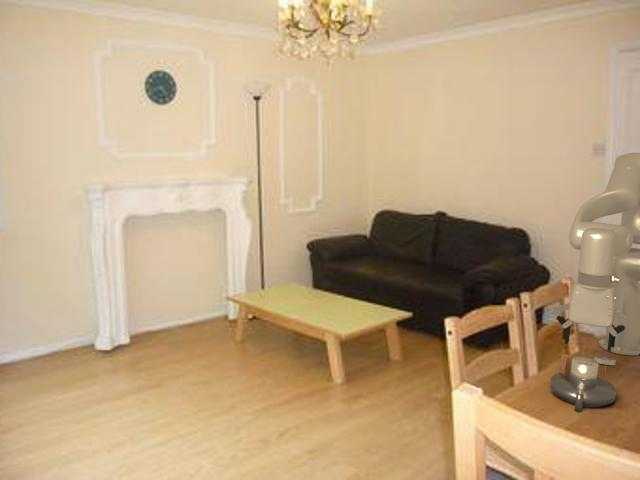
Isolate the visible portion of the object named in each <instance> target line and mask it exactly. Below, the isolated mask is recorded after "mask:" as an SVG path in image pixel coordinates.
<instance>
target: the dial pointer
mask: <svg viewBox="0 0 640 480" xmlns="http://www.w3.org/2000/svg"><path fill="white" fill-rule="evenodd" d="M583 397H584V394H583V393H582V390H579V392H577V393H576V401H575V404H574V411H575V412H577V413H582V412H583V407H584V406H583Z"/></svg>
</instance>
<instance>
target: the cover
mask: <svg viewBox="0 0 640 480" xmlns="http://www.w3.org/2000/svg"><path fill="white" fill-rule="evenodd" d="M598 370H599V363H598V362H597V361H595V360H594V358H589V357H584V356H583V357H582V356H575V357H573V358H572V359H571V368H570V372H571V375H570V384H571V385H573V386H575V387H577V388H581V389H594V388H596V381H597V377H598Z"/></svg>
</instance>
